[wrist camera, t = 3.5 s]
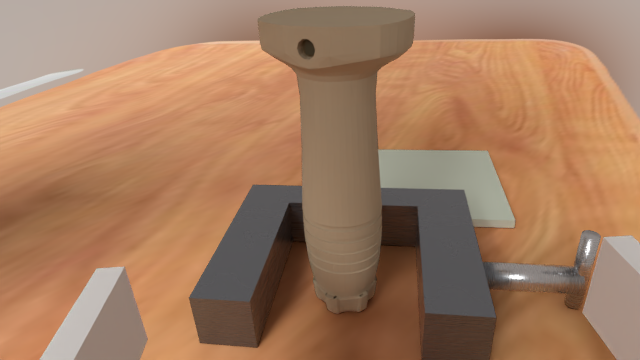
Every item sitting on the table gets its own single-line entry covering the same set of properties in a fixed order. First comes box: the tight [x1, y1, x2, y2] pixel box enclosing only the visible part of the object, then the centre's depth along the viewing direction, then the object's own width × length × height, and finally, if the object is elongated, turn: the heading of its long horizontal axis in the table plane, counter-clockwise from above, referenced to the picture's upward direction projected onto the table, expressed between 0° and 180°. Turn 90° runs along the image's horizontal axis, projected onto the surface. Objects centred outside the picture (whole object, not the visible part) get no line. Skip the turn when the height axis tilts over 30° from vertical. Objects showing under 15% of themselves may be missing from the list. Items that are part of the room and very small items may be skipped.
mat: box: [378, 150, 515, 228], centre depth 36 cm, size 11×11×1 cm
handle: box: [258, 6, 415, 314], centre depth 22 cm, size 5×6×15 cm
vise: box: [189, 185, 601, 360], centre depth 26 cm, size 19×11×4 cm, turn 82°
